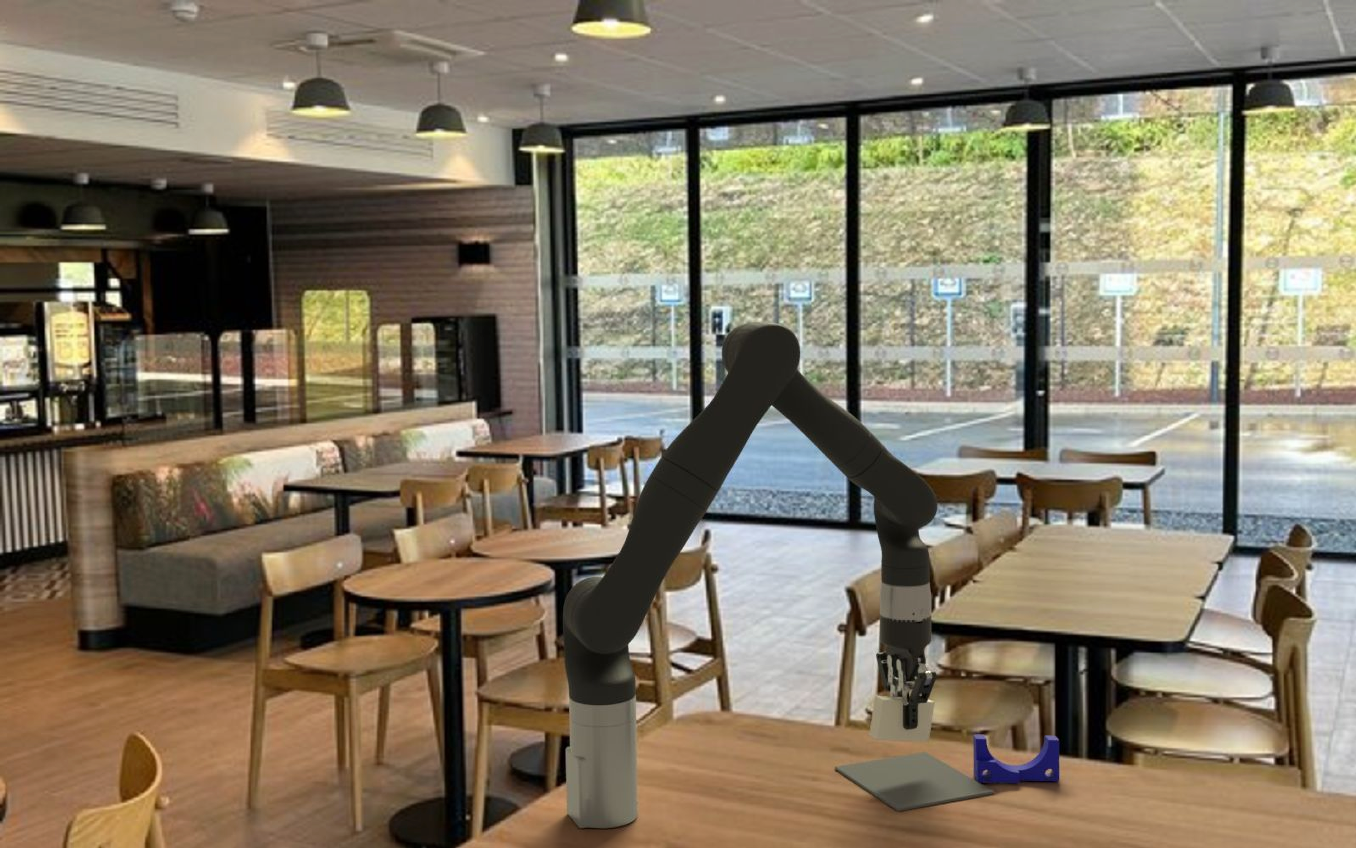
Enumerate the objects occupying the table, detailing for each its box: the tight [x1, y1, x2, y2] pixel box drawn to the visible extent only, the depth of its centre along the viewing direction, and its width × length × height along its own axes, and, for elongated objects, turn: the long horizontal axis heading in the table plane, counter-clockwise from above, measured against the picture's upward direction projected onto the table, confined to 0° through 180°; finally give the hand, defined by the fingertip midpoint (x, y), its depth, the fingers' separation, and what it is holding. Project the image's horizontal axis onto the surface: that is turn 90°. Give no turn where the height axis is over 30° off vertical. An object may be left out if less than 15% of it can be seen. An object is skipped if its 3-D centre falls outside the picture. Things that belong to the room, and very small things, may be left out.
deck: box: [868, 695, 935, 743], centre depth 196 cm, size 9×2×6 cm, turn 112°
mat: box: [834, 751, 995, 812], centre depth 195 cm, size 16×18×1 cm
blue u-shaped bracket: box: [972, 733, 1060, 784], centre depth 195 cm, size 12×4×6 cm, turn 85°
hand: (905, 725), depth 196 cm, fingers closed on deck, 2 cm apart
